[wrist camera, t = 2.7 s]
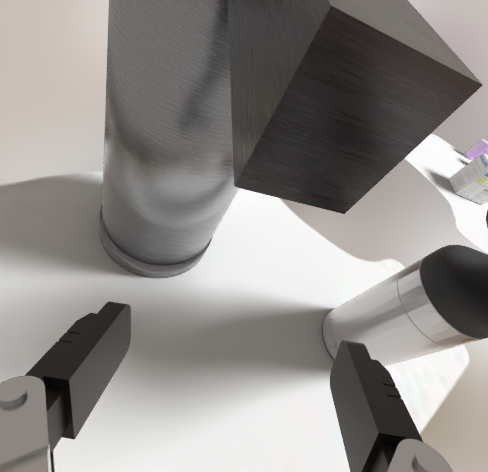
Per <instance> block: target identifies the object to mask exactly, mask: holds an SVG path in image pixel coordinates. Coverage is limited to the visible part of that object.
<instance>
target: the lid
mask: <svg viewBox="0 0 488 472" xmlns="http://www.w3.org/2000/svg"><path fill="white" fill-rule="evenodd" d="M228 28H229V56H230V85H231V113H232V142H233V170H234V187H238V188H242V189H246V190H250V191H254V192H258V193H262V194H266V195H270V196H274V197H278V198H283V199H286V200H290V201H294V202H299V203H303V204H307V205H311V206H315V207H319V208H323V209H327V210H331V211H335V212H339V213H343V214H345V213H346V212H347V211H348V210H349V209H350V208H351V207H352V206H353V205H354V204H355V203H356V202H358V200H360V199H361V198H362V197H363V196H364V195H365V194H366V193H367V192H368V191H369V190H370V189H371V188H372V187H374V186H375V185H376V184H377V183H378V182H379V181H380V180H381V179H382V178H383V177H384V176H385V175H386V174H388V173H389V172H390V171H391V170H392V169H393V168H394V167H395V166H396V165H397V164H398V163H399V162H401V161H402V160H403V159H404V158H405V157H406V156H407V155H408V154H409V153H410V152H411V151H412V150H413V149H414V148H416V147H417V146H418V145H419V144H420V143H421V142H422V141H423V140H424V139H425V138H426V137H427V136H428V135H430V134H431V133H432V132H433V131H434V130H435V129H436V128H437V127H438V126H439V125H440V124H441V123H442V122H443V121H445V120H446V119H447V118H448V117H449V116H450V115H451V114H452V113H453V112H454V111H455V110H456V109H457V108H459V107H460V106H461V105H462V104H463V103H464V102H465V101H466V100H467V99H468V98H469V97H470V96H471V95H472V94H474V93H475V92H476V91H477V90H478V89H479V88H480V87H481V86H482V84H481V83H480V81H479V80H478V79H477V78H476V77H475V76H474V75H473V73H472V72H471V71H470V70H469V69H468V68H467V67H466V65H465V64H464V63H463V62H462V61H461V60H460V59H459V58H458V56H457V55H456V54H455V53H454V52H453V51H452V50H451V49H450V48H449V46H448V45H447V44H446V43H445V42H444V41H443V40H442V38H441V37H440V36H439V35H438V34H437V33H436V32H435V31H434V29H433V28H432V27H431V26H430V25H429V24H428V23H427V22H426V20H425V19H424V18H423V17H422V16H421V15H420V14H419V13H418V11H417V10H416V9H415V8H414V7H413V6H412V5H411V4H410V2H409V1H408V0H228Z"/></svg>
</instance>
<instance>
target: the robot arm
mask: <svg viewBox="0 0 488 472" xmlns="http://www.w3.org/2000/svg"><path fill="white" fill-rule="evenodd" d="M486 222H487V227H488V211H487V216H486ZM130 337H131V308H130V305H127V304H121V303H114V302H108V303H106V304H105V306H104V307H103V308H102V309H101V310H100V311H99V312H98V314H94V313H90V314H88V315H86V316H85V317H83V318H81V319H79V320H77V321H76V322H75V323H74V324H73V325H72V327H71V328H70V329H69V330H68V331H67V333H65V334H64V335H63V336H62V337H61V338H60V339H59V342H56V343H55V344H54V345H53V347H52V348H51V349H50V350H49V351H48V352H47V353H46V354H45V355H44V356H43V357H42V358H41V359H40V360H39V361H38V362H37V363H36V364H35V365H34V367H33V368H32V369H31V370H30V371H29V372H28V373H27V374H26V375H25V376H20V377H15V378H12V379H9V380H7V381H4V382H2V383H1V384H0V472H55V463H54V451H53V449H54V448H55V446H56V445H57V443H58V442H59V440H60V439H61V437H64V438H70V439H75V438H76V436H77V434H78V433H79V431H80V429H81V428H82V426H83V425H84V423H85V421H86V420H87V418H88V416H89V415H90V413H91V411H92V410H93V408H94V406H95V405H96V403H97V401H98V400H99V398H100V396H101V395H102V393H103V391H104V390H105V388H106V386H107V385H108V383H109V381H110V380H111V378H112V376H113V375H114V373H115V371H116V370H117V368H118V367H119V365H120V363H121V362H122V360H123V358H124V357H125V355H126V353H127V350H128V348H129V344H130ZM323 338H324V341H325V345H326V347H327V349H328V351H329V353H330V354H331V356H332V357H333V359H334V360H335V361H334V364H333V367H332V370H331V375H330V388H331V392H332V397H333V401H334V405H335V409H336V413H337V417H338V421H339V426H340V430H341V434H342V438H343V442H344V446H345V450H346V455H347V459H348V463H349V467H350V471H351V472H453V471H452V469H451V467H450V466H449V464H448V463H447V461H446V460H445V459H444V458H443V457H442V456H441V455H440V454H439V453H438V452H437V451H436V450H435V449H433V448H432V447H431V446H429V445H427V444H425V443H424V442H423V441H422V439H421V436H420V434H419V432H418V430H417V428H416V426H415V424H414V422H413V420H412V418H411V416H410V414H409V412H408V410H407V408H406V406H405V404H404V402H403V400H402V399H401V396H400V394H399V392H398V390H397V388H395V383H394V381H393V379H392V377H391V375H390V373H389V372H388V371H387V370H386V368H385V367H384V366H387V365H391V364H395V363H398V362H402V361H405V360H409V359H413V358H416V357H420V356H423V355H427V354H431V353H434V352H438V351H442V350H445V349H449V348H452V347H455V346H459V345H463V344H466V343H470V342H473V341H477V340H481V339H484V338H488V255H487V254H485V253H482V252H479V251H477V250H474V249H472V248H469V247H466V246H461V245H449V246H445V247H442V248H440V249H438V250H437V251H435V252H433V253H431V254H430V255H428V256H426V257H424V258H423V259H421V260H419V261H417V262H416V263H414V264H412V265H410V266H409V267H407V268H405V269H404V270H402V271H400V272H398V273H397V274H395V275H393V276H391V277H390V278H388V279H386V280H384V281H383V282H381V283H379V284H377V285H376V286H374V287H372V288H370V289H369V290H367V291H365V292H363V293H362V294H360V295H358V296H356V297H355V298H353V299H351V300H349V301H347V302H346V303H344V304H342V305H340V306H339V307H337V308H335V309H333V310H332V311H330V312H329V313H328V314H327V316H326V317H325V319H324V322H323Z"/></svg>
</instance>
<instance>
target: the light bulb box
mask: <svg viewBox="0 0 488 472" xmlns="http://www.w3.org/2000/svg"><path fill="white" fill-rule="evenodd" d="M449 181H450V183H451V185H452V188H453V190H454V192H455V194H458V195H460V196H462V197H464V198H467V199H469V200H471V201H474V202H476V203H478V204H481V205H482V204H484V203H486V202H487V201H488V155H486V154H485V153H482V154H480V155H479V156H478V157H477V158H475V159H474V160H473V161H471V162H470V163H469V164H467V165H466V166H465V167H463V168H462V169H461V170H460V171H458V172H457V173H456V174H454V175H453V176H452V177H450V178H449Z"/></svg>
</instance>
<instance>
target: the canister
mask: <svg viewBox="0 0 488 472" xmlns="http://www.w3.org/2000/svg"><path fill="white" fill-rule="evenodd" d="M105 111H106V112H105V140H104V170H103V201H102V206H101V211H100V236H101V240H102V243H103V246H104V248H105V250H106V251H107V253H108V254H109V255H110V257H111V258H112V259H113V260H114V261H115V262H116V263H118V264H119V265H120V266H121V267H123V268H125V269H126V270H128V271H130V272H132V273H135V274H138V275H141V276H145V277H150V278H167V277H173V276H176V275H180V274H182V273H184V272H186V271H188V270H190V269H191V268H192V267H194V266H195V265H196V264H197V263H198V262H199V261H200V259H201V258H202V256H203V255H204V253H205V251H206V249H207V248H208V246H209V244H210V242H211V240H212V236H213V234H214V232H215V230H216V229H217V227H218V225H219V223H220V222H221V220H222V218H223V216H224V214H225V213H226V211H227V209H228V207H229V205H230V204H231V202H232V200H233V198H234V197H235V195H236V193H237V191H238V189H239V188H238V187H234V170H233V142H232V113H231V85H230V56H229V28H228V0H109V21H108V49H107V81H106V110H105Z"/></svg>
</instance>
